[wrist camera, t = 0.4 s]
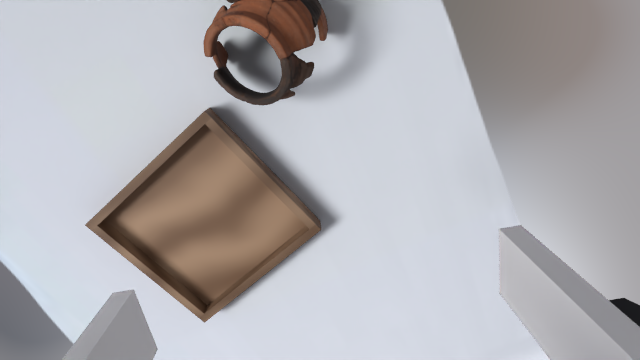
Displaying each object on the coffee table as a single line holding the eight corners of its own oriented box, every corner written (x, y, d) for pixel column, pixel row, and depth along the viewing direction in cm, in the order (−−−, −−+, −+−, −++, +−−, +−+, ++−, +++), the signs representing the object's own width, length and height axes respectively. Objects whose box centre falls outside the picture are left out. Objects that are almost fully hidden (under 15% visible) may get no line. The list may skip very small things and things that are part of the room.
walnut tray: (95, 216, 39) (84, 225, 37) (209, 107, 36) (204, 111, 34) (209, 310, 43) (204, 322, 41) (320, 220, 40) (321, 229, 38)
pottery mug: (348, 59, 35) (320, 105, 29) (264, 78, 39) (225, 122, 34) (299, -93, 28) (250, -71, 23) (204, -50, 33) (143, -22, 27)
